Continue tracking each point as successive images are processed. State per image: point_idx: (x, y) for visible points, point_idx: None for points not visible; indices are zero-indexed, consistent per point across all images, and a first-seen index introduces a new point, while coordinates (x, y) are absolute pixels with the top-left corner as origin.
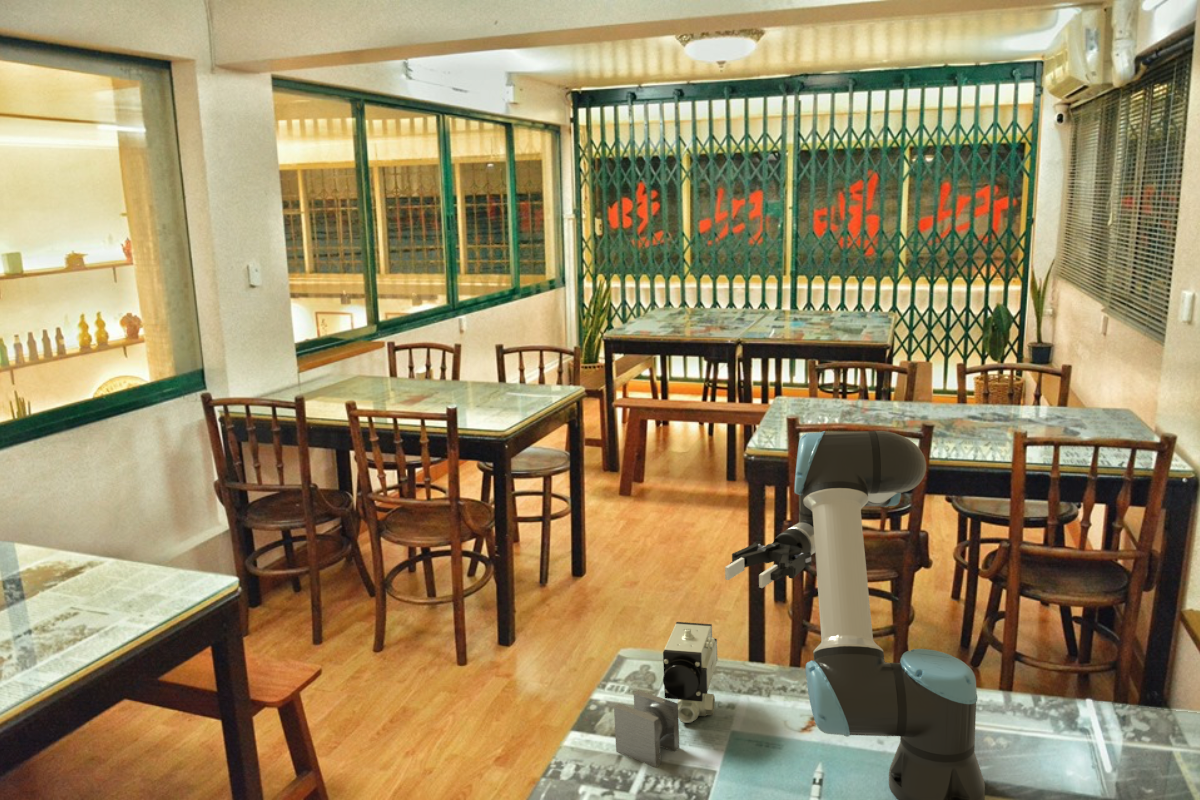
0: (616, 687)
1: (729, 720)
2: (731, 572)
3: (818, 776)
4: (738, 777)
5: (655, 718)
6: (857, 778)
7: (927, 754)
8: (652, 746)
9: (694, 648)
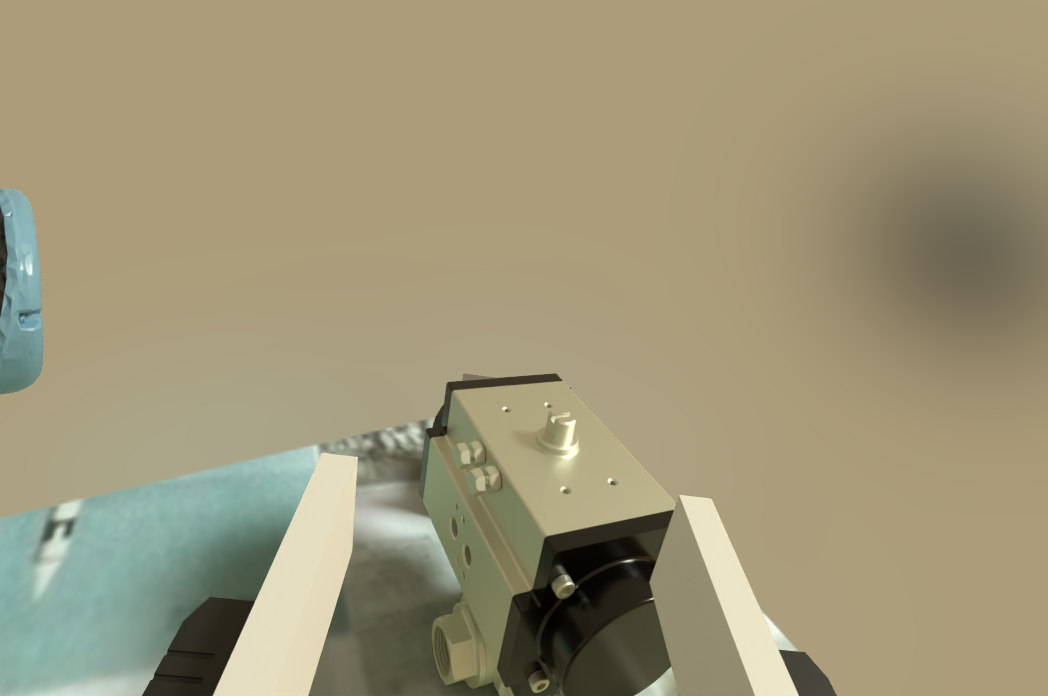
0: None
1: (377, 675)
2: (674, 583)
3: (53, 544)
4: (271, 485)
5: (467, 379)
6: None
7: None
8: None
9: (487, 400)
